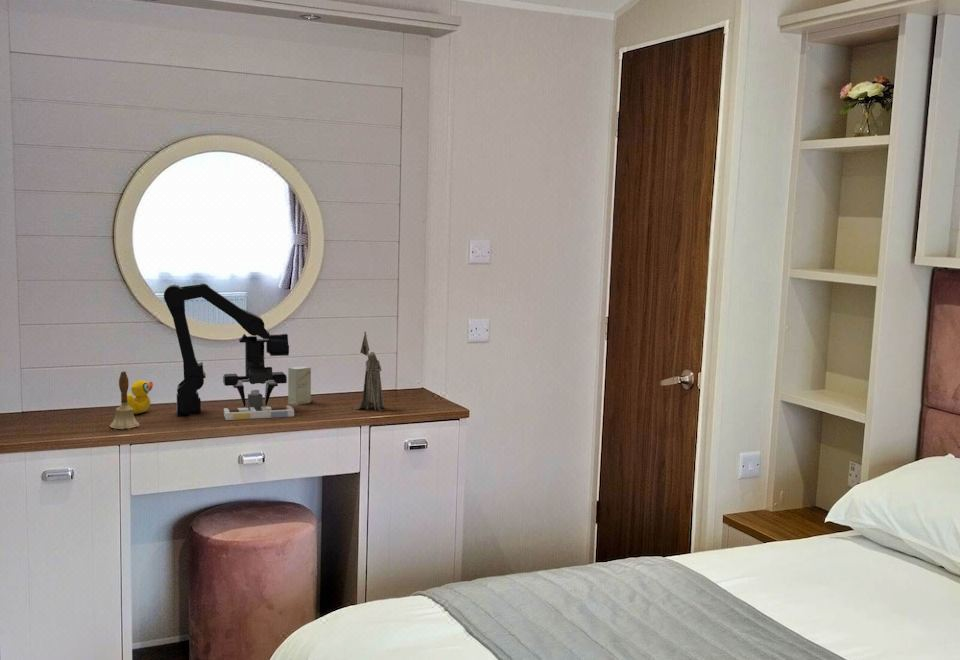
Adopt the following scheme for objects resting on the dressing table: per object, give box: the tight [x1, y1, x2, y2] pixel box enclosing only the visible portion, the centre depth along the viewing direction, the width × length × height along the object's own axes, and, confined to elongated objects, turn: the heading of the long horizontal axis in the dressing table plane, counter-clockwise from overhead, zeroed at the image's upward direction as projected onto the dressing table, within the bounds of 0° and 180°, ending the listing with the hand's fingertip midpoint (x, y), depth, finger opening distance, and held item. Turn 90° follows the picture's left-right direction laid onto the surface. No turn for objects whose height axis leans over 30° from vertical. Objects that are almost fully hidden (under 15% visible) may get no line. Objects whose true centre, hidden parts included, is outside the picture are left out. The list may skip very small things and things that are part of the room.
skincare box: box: [287, 365, 312, 406], centre depth 306 cm, size 6×4×12 cm
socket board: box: [223, 404, 295, 421], centre depth 284 cm, size 20×11×2 cm, turn 110°
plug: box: [247, 389, 264, 411], centre depth 294 cm, size 4×4×6 cm
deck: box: [237, 406, 273, 412], centre depth 294 cm, size 10×7×1 cm
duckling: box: [127, 379, 154, 415], centre depth 288 cm, size 11×5×10 cm, turn 158°
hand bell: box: [109, 370, 141, 429], centre depth 269 cm, size 8×8×16 cm
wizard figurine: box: [354, 331, 386, 412], centre depth 300 cm, size 10×8×25 cm
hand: (255, 406), depth 294 cm, fingers open, 6 cm apart
